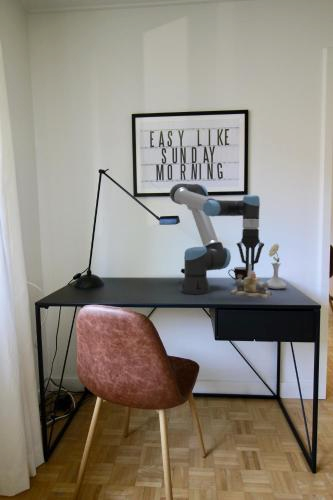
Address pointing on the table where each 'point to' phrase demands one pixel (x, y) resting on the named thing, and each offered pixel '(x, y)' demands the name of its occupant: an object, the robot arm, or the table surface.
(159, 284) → the table surface
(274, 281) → the flower in vase
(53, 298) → the table surface
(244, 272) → the coffee mug
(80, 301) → the table surface
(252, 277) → the lever
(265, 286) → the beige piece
